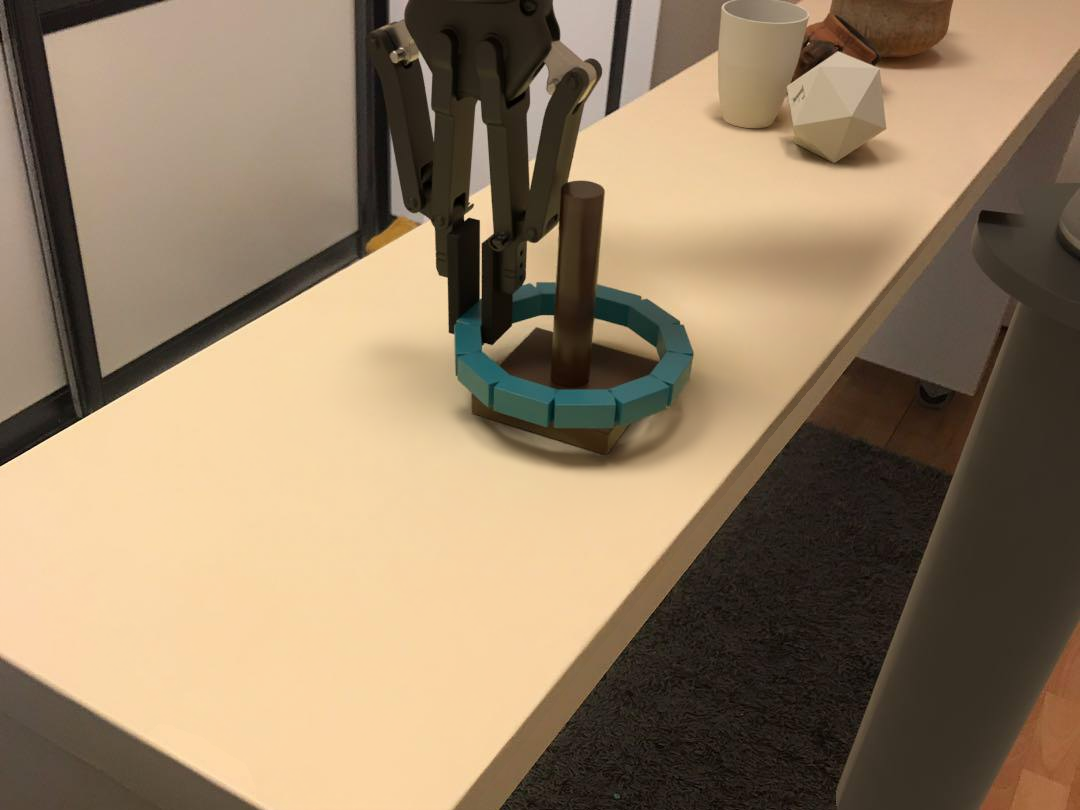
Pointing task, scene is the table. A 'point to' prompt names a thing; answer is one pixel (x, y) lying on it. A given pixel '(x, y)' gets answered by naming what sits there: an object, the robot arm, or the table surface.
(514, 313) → the ring
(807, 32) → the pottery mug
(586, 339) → the post
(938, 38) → the bowl
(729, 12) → the cup
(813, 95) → the die
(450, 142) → the robot arm
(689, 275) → the table surface
